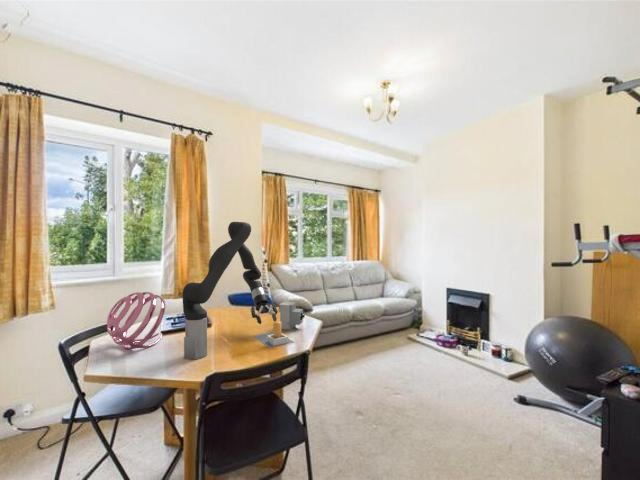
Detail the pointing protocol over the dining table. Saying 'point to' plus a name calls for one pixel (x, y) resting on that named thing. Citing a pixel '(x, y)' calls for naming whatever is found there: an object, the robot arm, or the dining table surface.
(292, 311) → the circuit breaker
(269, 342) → the lockout board
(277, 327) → the wooden peg
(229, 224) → the robot arm
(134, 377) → the dining table surface
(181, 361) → the dining table surface
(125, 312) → the spiral basket
